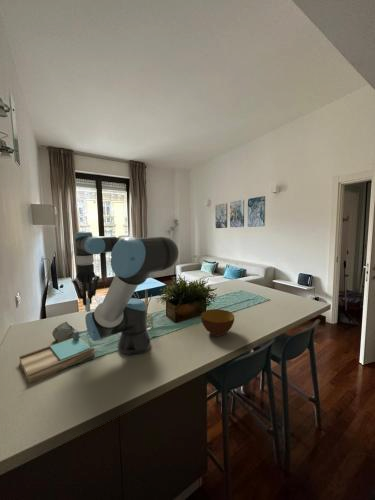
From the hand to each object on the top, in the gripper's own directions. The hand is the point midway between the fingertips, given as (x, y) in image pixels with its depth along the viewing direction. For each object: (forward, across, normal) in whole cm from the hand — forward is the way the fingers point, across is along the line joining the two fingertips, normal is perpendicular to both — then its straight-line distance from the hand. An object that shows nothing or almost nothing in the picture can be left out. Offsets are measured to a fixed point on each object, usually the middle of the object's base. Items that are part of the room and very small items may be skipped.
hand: (87, 310), depth 108 cm
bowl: (+16, -50, +42) cm, 68 cm away
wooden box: (+16, +16, +5) cm, 23 cm away
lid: (+13, +10, +5) cm, 18 cm away
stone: (+16, +8, -11) cm, 21 cm away
